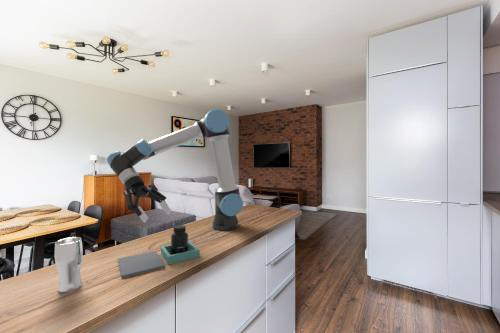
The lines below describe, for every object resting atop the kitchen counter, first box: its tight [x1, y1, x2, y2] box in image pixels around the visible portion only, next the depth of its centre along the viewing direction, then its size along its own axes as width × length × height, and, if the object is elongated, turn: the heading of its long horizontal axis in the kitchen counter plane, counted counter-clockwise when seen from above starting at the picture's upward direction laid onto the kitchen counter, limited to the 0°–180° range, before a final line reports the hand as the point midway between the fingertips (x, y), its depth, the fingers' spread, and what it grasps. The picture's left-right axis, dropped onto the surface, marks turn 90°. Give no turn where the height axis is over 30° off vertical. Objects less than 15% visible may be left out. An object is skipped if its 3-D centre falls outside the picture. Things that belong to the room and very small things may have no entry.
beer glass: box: [54, 236, 84, 294], centre depth 74 cm, size 7×7×15 cm
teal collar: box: [160, 240, 201, 266], centre depth 98 cm, size 12×12×3 cm
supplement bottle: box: [170, 224, 189, 255], centre depth 98 cm, size 7×7×12 cm
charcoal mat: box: [117, 250, 166, 279], centre depth 90 cm, size 14×16×1 cm
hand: (158, 216), depth 102 cm, fingers open, 13 cm apart
